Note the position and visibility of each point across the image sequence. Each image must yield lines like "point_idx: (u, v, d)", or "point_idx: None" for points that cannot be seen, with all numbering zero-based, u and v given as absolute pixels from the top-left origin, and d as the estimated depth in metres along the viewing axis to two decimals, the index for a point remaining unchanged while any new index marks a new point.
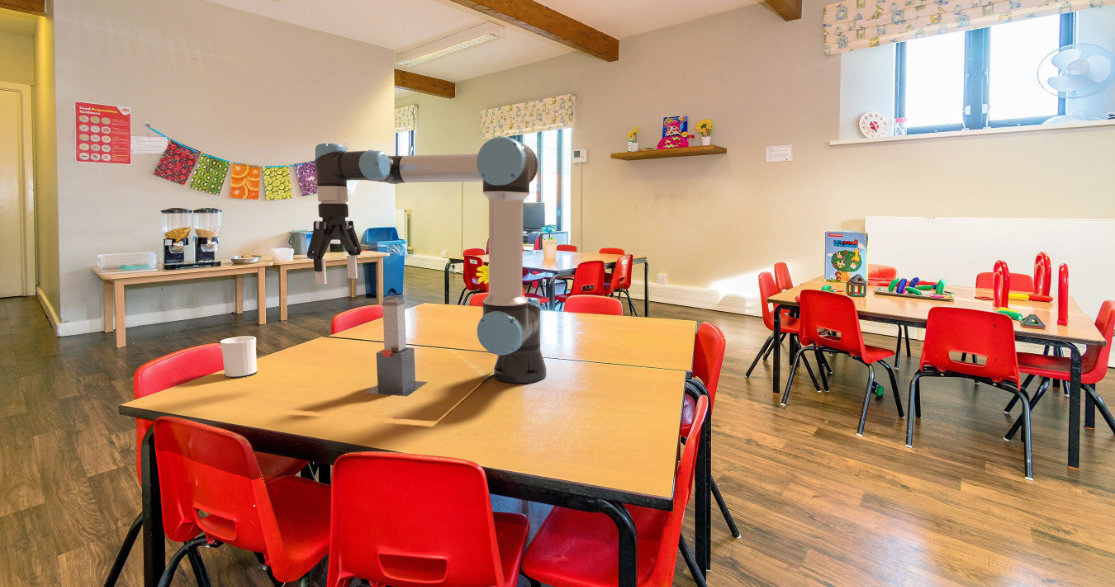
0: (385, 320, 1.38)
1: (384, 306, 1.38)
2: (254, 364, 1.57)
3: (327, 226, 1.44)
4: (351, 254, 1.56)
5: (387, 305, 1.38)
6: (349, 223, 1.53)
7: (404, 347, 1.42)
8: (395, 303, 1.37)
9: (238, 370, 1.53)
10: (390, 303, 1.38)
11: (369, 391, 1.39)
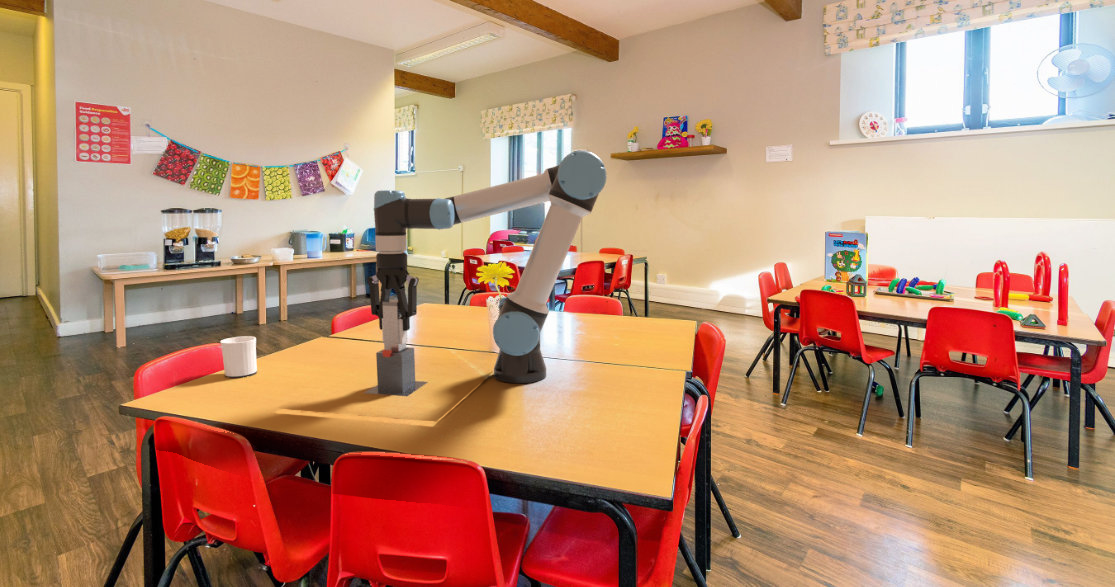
0: (385, 320, 1.38)
1: (384, 306, 1.38)
2: (254, 364, 1.57)
3: (378, 278, 1.39)
4: None
5: (387, 305, 1.38)
6: None
7: (404, 347, 1.42)
8: (395, 303, 1.37)
9: (238, 370, 1.53)
10: (390, 303, 1.38)
11: (369, 391, 1.39)
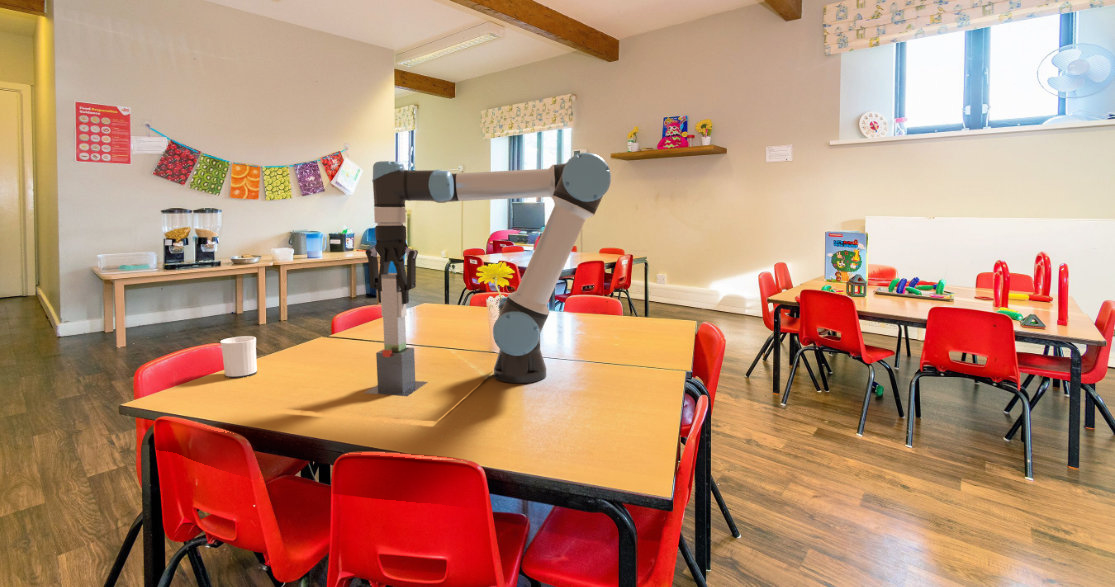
0: (384, 293, 1.38)
1: (383, 279, 1.37)
2: (254, 364, 1.57)
3: (376, 250, 1.38)
4: None
5: (386, 278, 1.37)
6: None
7: (403, 321, 1.41)
8: (394, 276, 1.36)
9: (238, 370, 1.53)
10: (389, 276, 1.37)
11: (369, 391, 1.39)
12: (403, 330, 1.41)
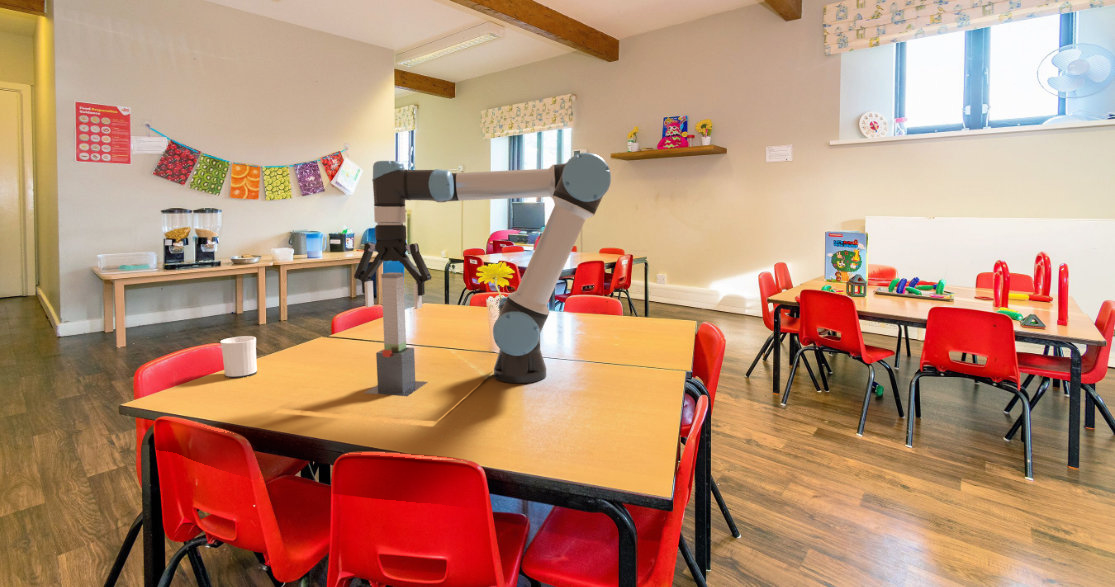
0: (384, 293, 1.37)
1: (383, 278, 1.37)
2: (254, 364, 1.57)
3: (375, 248, 1.38)
4: None
5: (386, 277, 1.37)
6: None
7: (403, 320, 1.41)
8: (394, 275, 1.36)
9: (238, 370, 1.53)
10: (389, 275, 1.37)
11: (369, 391, 1.39)
12: (403, 330, 1.41)
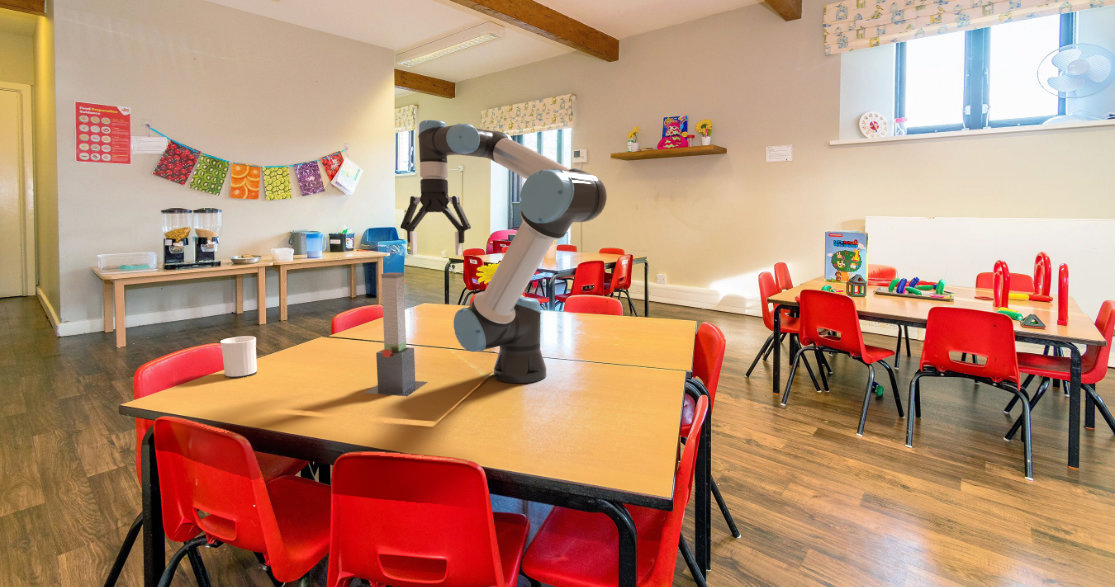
0: (384, 293, 1.37)
1: (383, 278, 1.37)
2: (254, 364, 1.57)
3: (420, 201, 1.52)
4: None
5: (386, 277, 1.37)
6: None
7: (403, 320, 1.41)
8: (394, 275, 1.36)
9: (238, 370, 1.53)
10: (389, 275, 1.37)
11: (369, 391, 1.39)
12: (403, 330, 1.41)
